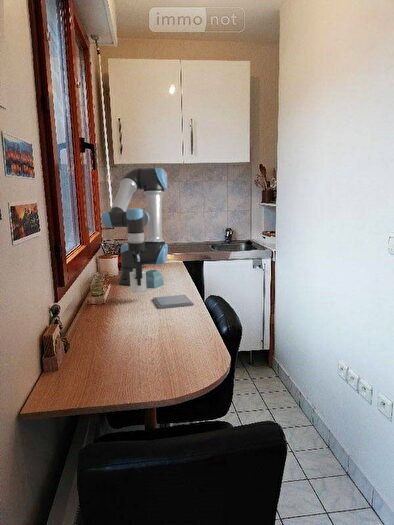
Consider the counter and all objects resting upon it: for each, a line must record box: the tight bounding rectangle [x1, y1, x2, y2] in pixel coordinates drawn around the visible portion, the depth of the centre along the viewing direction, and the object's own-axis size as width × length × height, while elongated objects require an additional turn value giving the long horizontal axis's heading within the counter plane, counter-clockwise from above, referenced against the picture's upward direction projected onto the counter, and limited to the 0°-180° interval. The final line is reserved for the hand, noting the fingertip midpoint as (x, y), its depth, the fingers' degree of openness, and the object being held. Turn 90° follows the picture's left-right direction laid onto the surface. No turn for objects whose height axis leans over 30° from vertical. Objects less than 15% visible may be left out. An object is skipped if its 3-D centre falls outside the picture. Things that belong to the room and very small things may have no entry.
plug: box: [129, 269, 148, 294], centre depth 179 cm, size 5×7×11 cm
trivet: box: [152, 294, 194, 310], centre depth 177 cm, size 16×16×1 cm
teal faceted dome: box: [145, 269, 164, 290], centre depth 209 cm, size 9×9×9 cm
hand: (138, 290), depth 180 cm, fingers closed on plug, 5 cm apart
